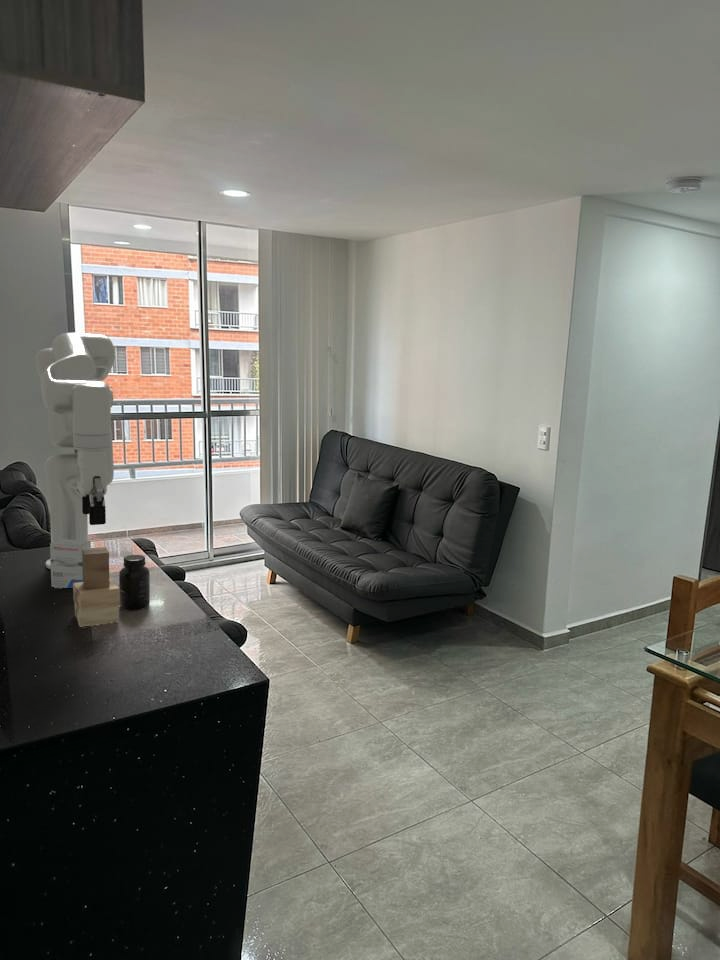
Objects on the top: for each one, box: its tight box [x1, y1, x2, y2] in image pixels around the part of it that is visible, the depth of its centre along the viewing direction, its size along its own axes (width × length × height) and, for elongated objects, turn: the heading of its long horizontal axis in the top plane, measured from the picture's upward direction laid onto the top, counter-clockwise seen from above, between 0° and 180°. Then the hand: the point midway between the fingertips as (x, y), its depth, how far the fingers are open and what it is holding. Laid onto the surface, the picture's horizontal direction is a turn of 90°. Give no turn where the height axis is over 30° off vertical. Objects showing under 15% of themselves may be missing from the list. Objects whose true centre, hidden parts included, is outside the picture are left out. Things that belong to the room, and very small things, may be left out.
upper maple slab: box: [72, 577, 120, 612], centre depth 146 cm, size 8×8×4 cm
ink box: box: [49, 539, 92, 589], centre depth 166 cm, size 8×5×12 cm, turn 84°
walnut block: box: [82, 546, 110, 590], centre depth 145 cm, size 5×5×8 cm
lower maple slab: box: [74, 602, 120, 628], centre depth 146 cm, size 8×8×4 cm
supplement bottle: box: [118, 554, 151, 611], centre depth 154 cm, size 7×7×12 cm
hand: (93, 518), depth 143 cm, fingers open, 9 cm apart
